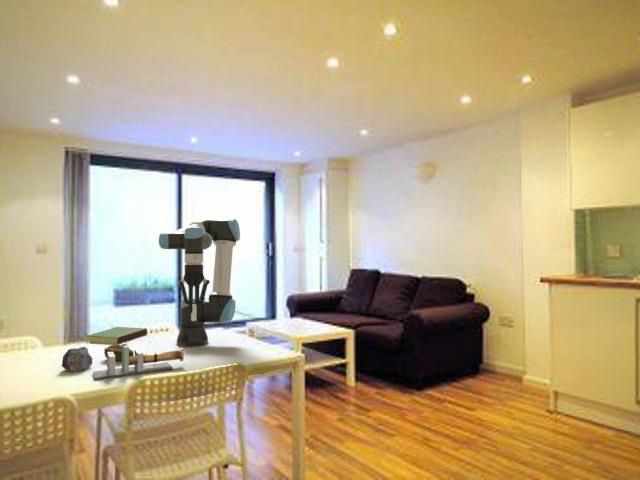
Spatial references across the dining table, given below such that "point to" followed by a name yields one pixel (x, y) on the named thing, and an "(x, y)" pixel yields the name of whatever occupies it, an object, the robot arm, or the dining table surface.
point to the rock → (77, 360)
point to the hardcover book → (116, 335)
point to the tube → (158, 357)
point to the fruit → (116, 352)
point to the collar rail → (127, 370)
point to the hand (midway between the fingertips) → (193, 320)
